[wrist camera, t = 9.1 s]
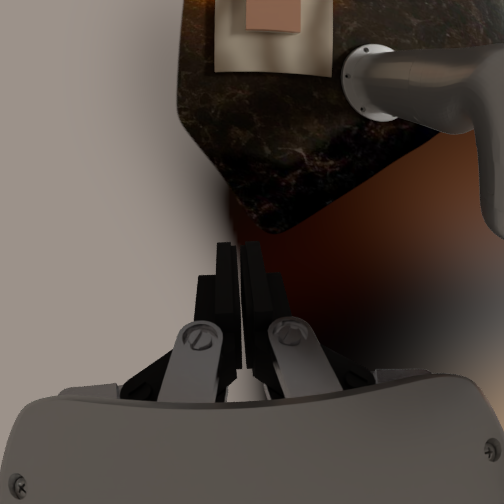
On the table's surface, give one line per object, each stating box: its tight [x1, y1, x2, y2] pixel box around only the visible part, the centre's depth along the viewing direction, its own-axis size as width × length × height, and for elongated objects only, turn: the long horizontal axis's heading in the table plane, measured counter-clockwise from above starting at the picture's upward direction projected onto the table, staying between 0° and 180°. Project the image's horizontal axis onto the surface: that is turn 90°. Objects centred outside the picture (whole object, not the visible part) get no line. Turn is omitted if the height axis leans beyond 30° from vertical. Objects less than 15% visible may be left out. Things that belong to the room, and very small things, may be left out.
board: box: [215, 0, 333, 77], centre depth 30 cm, size 16×15×1 cm
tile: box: [245, 0, 301, 34], centre depth 27 cm, size 2×7×7 cm
